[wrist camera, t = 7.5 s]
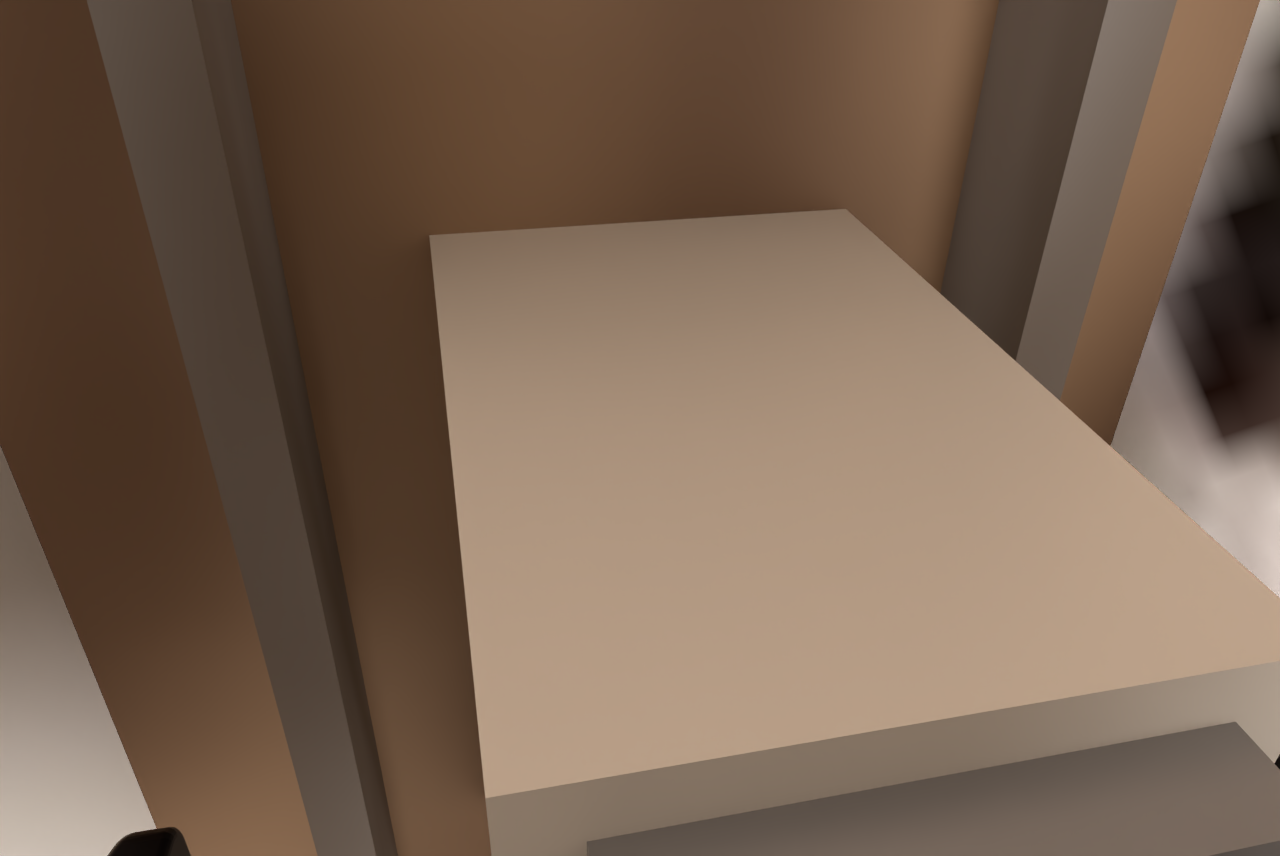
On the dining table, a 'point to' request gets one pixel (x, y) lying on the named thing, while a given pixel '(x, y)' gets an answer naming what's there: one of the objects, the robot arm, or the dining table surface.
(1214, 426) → the dining table surface
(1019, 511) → the block
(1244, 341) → the dining table surface
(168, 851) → the robot arm
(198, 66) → the rail mount
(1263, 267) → the dining table surface
